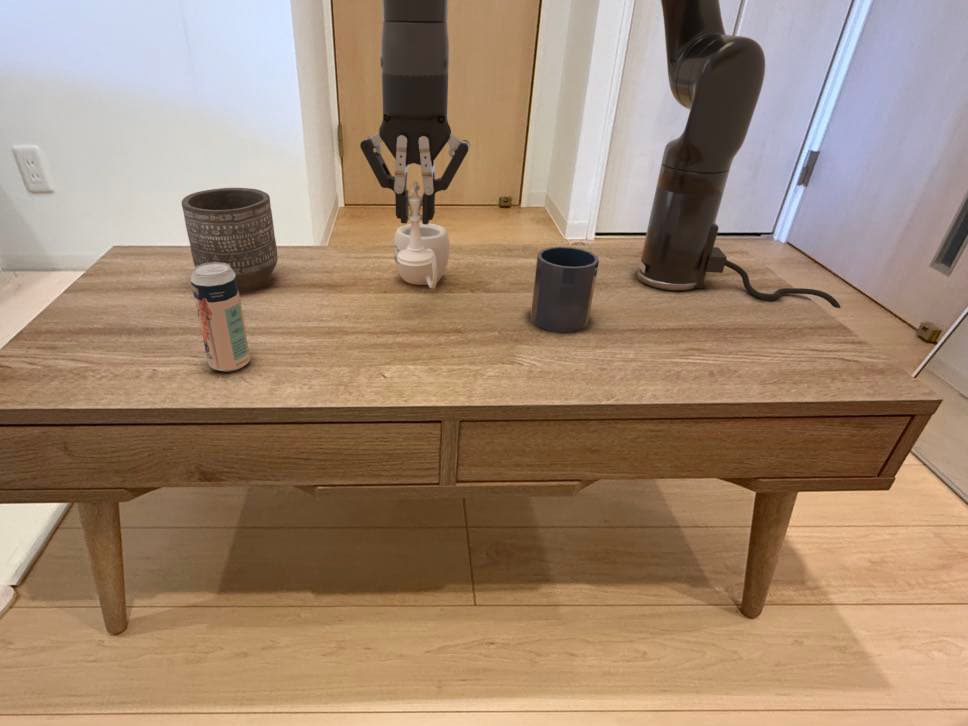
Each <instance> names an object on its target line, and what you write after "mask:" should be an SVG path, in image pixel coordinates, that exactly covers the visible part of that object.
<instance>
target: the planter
mask: <svg viewBox="0 0 968 726" xmlns="http://www.w3.org/2000/svg"><path fill="white" fill-rule="evenodd" d="M181 208H182V212H183V217H184V224H185V229H186V233H187V238H188V242H189V247H190V253H191V257H192V262H193V266H194V268H195V267H196V266H199V265H201V264H204V263H211V262H220V263H226V264H228V265H229V266H230V267H231V269H232V270H233V271H234V272H235V274H236V279H237V285H238V291H239V294H246V293H251V292H255V291H258V290H260V289H262V288H264V287H265V286H267V284H268V282H269V281H270V279H271V277H272V275H273V272H274V271H275V268H276V266H277V263H278V259H279V256H278V249H277V241H276V236H275V235H276V234H275V227H274V219H273V211H272V205H271V198H270V195H269V194H268V193H267V192H265V191H263V190H261V189H256V188H247V187H222V188H221V187H220V188H212V189H207V190H200V191H196V192H193V193H190V194H188V195H186V196H184V197H183V198H182V200H181Z"/></svg>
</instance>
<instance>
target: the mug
mask: <svg viewBox="0 0 968 726" xmlns="http://www.w3.org/2000/svg"><path fill="white" fill-rule="evenodd" d="M419 227H420V236H421V243H422V246H423V247H424V249H427V250H429V251H431V252H432V253H433V258H434V261H433V262H432V263H431V264H428V265H424V266H407V265H403V264H401V263H399V262H398V261H397V254H398V253H399V252H400V251H402V250H404V249H407V246H409V242H410V234H411V223H407V224H405V225H402V226H399V227H398V228H397V229H396V232H395V234H394V238H393V239H394V240H393V256H394V262H395V266H396V269H397V272H398V274H399V277H400V278H401V279H402V280H403V281H404V282H406V283H408V284H411V285H416V286H428V288H429V289H432V290H434V289H435V288H436V287H437V283H438V282H439V281H440V280H441V279H442V278H443V276H444V274H445V272H446V269H447V266H448V263H449V259H450V238H449V237H450V236H449V234H448V231H447V229H446V228H445V227H443V226H442V225H438V224H436V223H430V222H429V223H428V225H425V224H422V222H419Z"/></svg>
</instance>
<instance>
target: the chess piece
mask: <svg viewBox="0 0 968 726" xmlns="http://www.w3.org/2000/svg"><path fill="white" fill-rule="evenodd" d="M418 182H419V181H415V180H414V181H413V182H412V187H411V188H410V193H412V195H408V198H407V200H408V203H409V211H410V213H409V215H408V216H407V219H408V221H411V222H410V224H411V234H410V242H409V246H407V249H404V250H402V251H400V252H399V253H398V254H397V261H398V262H399V263H401V264H403V265H407V266H424V265H428V264H431V263H432V262H433V261H434V258H433V253H432V252H431V251H429V250H427V249H424V247H423V246H422V243H421V236H420V227H419V223H420V221H422V213H420V211H421V210H422V196H421V195H418V194H419V192H418V191H420V189H421V188H420V187H421V186H420V185H419V183H418Z"/></svg>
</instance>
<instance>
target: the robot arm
mask: <svg viewBox="0 0 968 726" xmlns="http://www.w3.org/2000/svg"><path fill="white" fill-rule="evenodd" d="M381 2H382V20H383V21H382V31H381V42H380V54H381V55H380V68H381V91H382V93H381V96H382V121H381V124H380V126H379V129H378V132H376V133H375V134H373V135H371V136H366V137H365V138H364V139H362V141H361V142H360V143H359V148H360V149H361V151H362V153H363V155H364V157H365V159H366V162H367V163H368V165H369V166H370V168H371V171H372V173H373V174H374V176H375V177H376V180H377V183H379V185H380V187H381V188H383V189H389V190H391V191H393V192H394V195H395V197H394V198H395V201H394V202H395V216H396V219H397V220H400V224H405V225H407V224H408V221H409V220H408V219H407V216H408V215H409V214H410V212H409V211H410V206H409V203H408V200H407V198H408V197H409V190H408V188H407V187H408V185H407V184H408V173H409V169H410V168H409V167H410V165H412V164H415V165H418V166H420V171H421V176H422V185H423V193H422V196H421V197H422V205H421V210H422V212H421V215H422V220H421V223H422V224H425V225H428V223H430V221H433V219H434V216H435V214H436V194H437V193H438V192H441V191H446V190H447V189H448V188H449V186H450V185H451V183H452V181H453V179H454V178H455V176H456V174H457V173H458V170H459V168H460V166H461V165H462V163H463V161H464V160H465V158H466V156H467V155H468V152H469V149H470V145H471V144H470V142H469V140H467V139H461V138H459V137H458V136H457V135H456V136H455V135H454V134H453V133H452V129H451V126H450V124H449V120H448V96H449V65H450V64H449V63H450V61H449V60H450V42H449V31H448V18H449V17H448V9H449V0H381ZM660 4H661V10H662V17H663V18H662V19H663V26H664V39H665V51H666V52H665V53H666V65H667V77H668V83H669V88H670V91H671V93H672V97H673V98H674V100H675V101H676V102H677V103H678V104H679V105H680V106H682V107H684V108H685V109H688V110H689V113H688V117H687V119H686V123H685V127H684V128H683V129H684V130H683V132H682V133H681V135H680V136H679V137H677V138H674V139H671V140H670V141H668V142H667V143H666V145H665V147H664V150H663V154H662V160H661V164H660V169H659V173H658V177H657V184H656V187H655V191H654V197H653V201H652V206H651V210H650V215H649V220H648V223H647V224H648V225H647V229H646V235H645V237H644V238H645V239H644V243H643V248H642V253H641V257H640V258H639V257H638V258H637V261H636V265H637V266H638V268H637V271H636V272H637V273H636V276H637V279H638V280H639V281H640V282H641V283H643V284H646V285H648V286H650V287H653V288H657V289H661V290H667V291H689V290H693V289H703V286H704V282H705V279H706V276H707V273H714V274H715V273H717V274H723V272H724V269H725V267H727V268H729V269H731V270H732V271H735V273H737V274H738V275H739V276H740V277H741V279H742V284H743V286H744V289H745V290H746V291H747V292H748V294H750V295H751V296H753V297H755V298H758V299H762V300H770V301H771V300H777V299H778V298H779V297H780V296H781V295H785V294H787V295H788V294H789V295H812V296H815V297H819V298H822V299H824V300H825V301H827V302H828V303H829V304H830V305H831V306H832V307H833V308H835V309H841V304H840V303H839V302H838V301H837V300H836V299H835V297H833V296H832V295H830V293H827V292H825V291H822V290H820V289H815V288H814V289H813V288H801V287H799V288H797V287H783V288H778V289H777V290H776V291H775V292H774V293H766V292H765V293H764V292H760V291H758V290H756V288H754V287H753V286H752V284H751V282H750V278H749V275H748V273H747V272H746V271H745V269H744V268H742V267H741V266H739V265H738V264H736V263H734V262H732V261H729V260H728V257H727V256H726V254H725V253H724V252H723V251H722V250H721V248H720V247H718V246H715V243H716V240H717V236H718V232H719V225H718V224H717V223H716V221H717V218H718V213H719V210H720V207H721V204H722V199H723V195H724V193H725V189H726V185H727V181H728V178H729V174H730V170H731V167H732V163H733V160H734V158H735V156H736V155H737V154H738V152H739V151H740V150H741V148H742V147H743V144H744V143H745V140H746V137H747V135H748V132H749V129H750V125H751V122H752V120H753V116H754V113H755V110H756V107H757V104H758V102H759V98H760V94H761V91H762V88H763V84H764V80H765V74H766V56H765V52H764V49H763V48H762V47H761V45H760V43H758V42H757V40H754V39H753V38H750V37H747V36H742V35H730V34H726V31H725V26H724V23H723V18H722V12H721V11H722V10H721V5H720V0H660ZM382 142H383V143H384V145H385V146H386V148H387V150H388V151H389V152H390V154H391V155H392V157H393V158H394V160H395V165H394V175H392V173H391V171H390V169H389V168H388V165H387V164H386V162H385V160H384V157H383V156H382V154H381V152H382V151H383V145H382ZM446 144H448V147H449V149H448V155H449V156H450V158H451V159H450V161H449V163H448V164H447V166H446V168H445V170H444V172H443V174H442V176H441V177H438V178H436V164H435V163H436V162H435V160H436V158H437V157H438V155H439V154H440V153H441V151H442V150H443V149H444V148H445V146H446Z"/></svg>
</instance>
